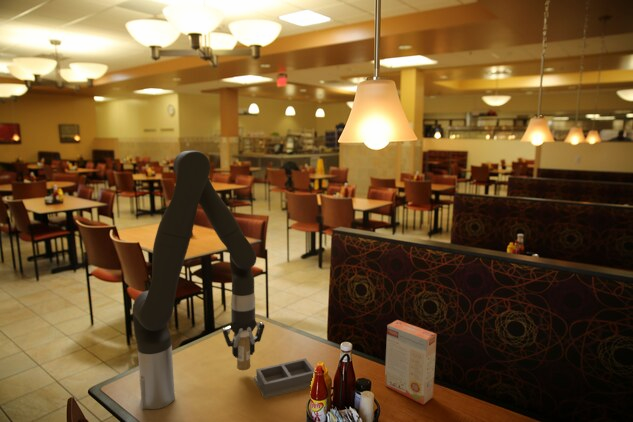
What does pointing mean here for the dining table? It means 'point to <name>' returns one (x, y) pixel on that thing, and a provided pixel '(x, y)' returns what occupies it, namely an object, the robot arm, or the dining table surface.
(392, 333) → the cracker box
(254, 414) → the dining table surface
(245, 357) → the sprinkles bottle
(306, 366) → the caddy
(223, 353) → the dining table surface
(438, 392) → the dining table surface
